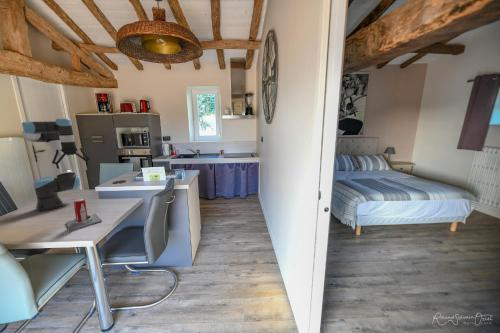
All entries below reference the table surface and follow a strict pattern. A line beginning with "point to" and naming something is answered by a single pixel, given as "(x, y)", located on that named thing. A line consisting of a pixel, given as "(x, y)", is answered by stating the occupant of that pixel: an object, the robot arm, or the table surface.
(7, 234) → the table surface
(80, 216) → the beverage can
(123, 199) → the table surface
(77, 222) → the collar
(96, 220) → the seat plate
